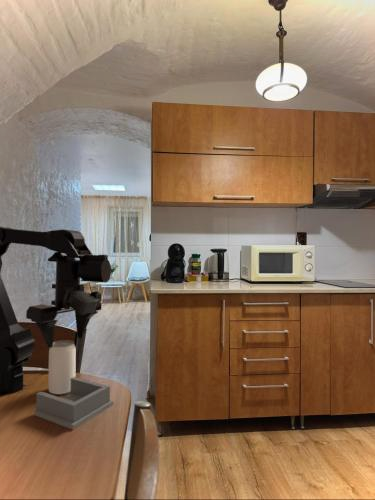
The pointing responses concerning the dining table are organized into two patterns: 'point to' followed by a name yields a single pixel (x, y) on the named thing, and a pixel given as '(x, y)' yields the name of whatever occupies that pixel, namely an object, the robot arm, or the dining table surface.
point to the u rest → (74, 403)
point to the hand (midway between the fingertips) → (65, 342)
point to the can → (61, 366)
